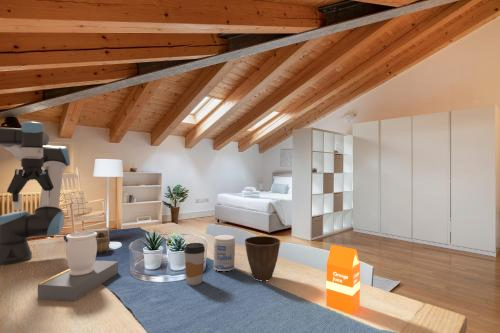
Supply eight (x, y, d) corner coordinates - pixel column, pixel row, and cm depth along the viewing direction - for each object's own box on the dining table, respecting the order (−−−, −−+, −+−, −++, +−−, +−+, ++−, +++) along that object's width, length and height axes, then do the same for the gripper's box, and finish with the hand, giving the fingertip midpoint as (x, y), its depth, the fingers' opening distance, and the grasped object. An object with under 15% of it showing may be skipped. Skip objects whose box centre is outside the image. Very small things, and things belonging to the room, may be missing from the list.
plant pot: (238, 280, 115) (238, 242, 115) (254, 269, 129) (254, 234, 129) (271, 288, 108) (271, 247, 108) (284, 275, 122) (285, 238, 122)
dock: (88, 271, 124) (88, 259, 124) (118, 272, 123) (118, 260, 123) (37, 298, 98) (37, 283, 98) (74, 301, 97) (74, 285, 97)
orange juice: (335, 297, 101) (335, 242, 101) (360, 305, 96) (360, 247, 96) (325, 305, 95) (326, 247, 95) (351, 314, 90) (352, 252, 90)
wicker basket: (82, 248, 159) (82, 228, 159) (110, 246, 164) (110, 226, 164) (76, 256, 145) (77, 234, 145) (107, 253, 150) (107, 232, 150)
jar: (82, 278, 104) (82, 238, 104) (58, 276, 106) (59, 236, 106) (102, 268, 114) (103, 231, 114) (81, 266, 116) (81, 230, 116)
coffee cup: (208, 280, 116) (209, 244, 116) (196, 288, 108) (197, 249, 108) (192, 276, 119) (192, 241, 119) (179, 284, 112) (179, 246, 112)
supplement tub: (216, 274, 122) (217, 240, 122) (211, 267, 131) (211, 235, 131) (237, 271, 126) (237, 238, 126) (230, 264, 135) (231, 233, 135)
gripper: (12, 157, 108) (12, 212, 108) (62, 158, 133) (62, 203, 133) (-5, 157, 109) (-6, 211, 109) (48, 158, 133) (48, 203, 133)
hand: (32, 207), depth 121 cm, fingers open, 13 cm apart
